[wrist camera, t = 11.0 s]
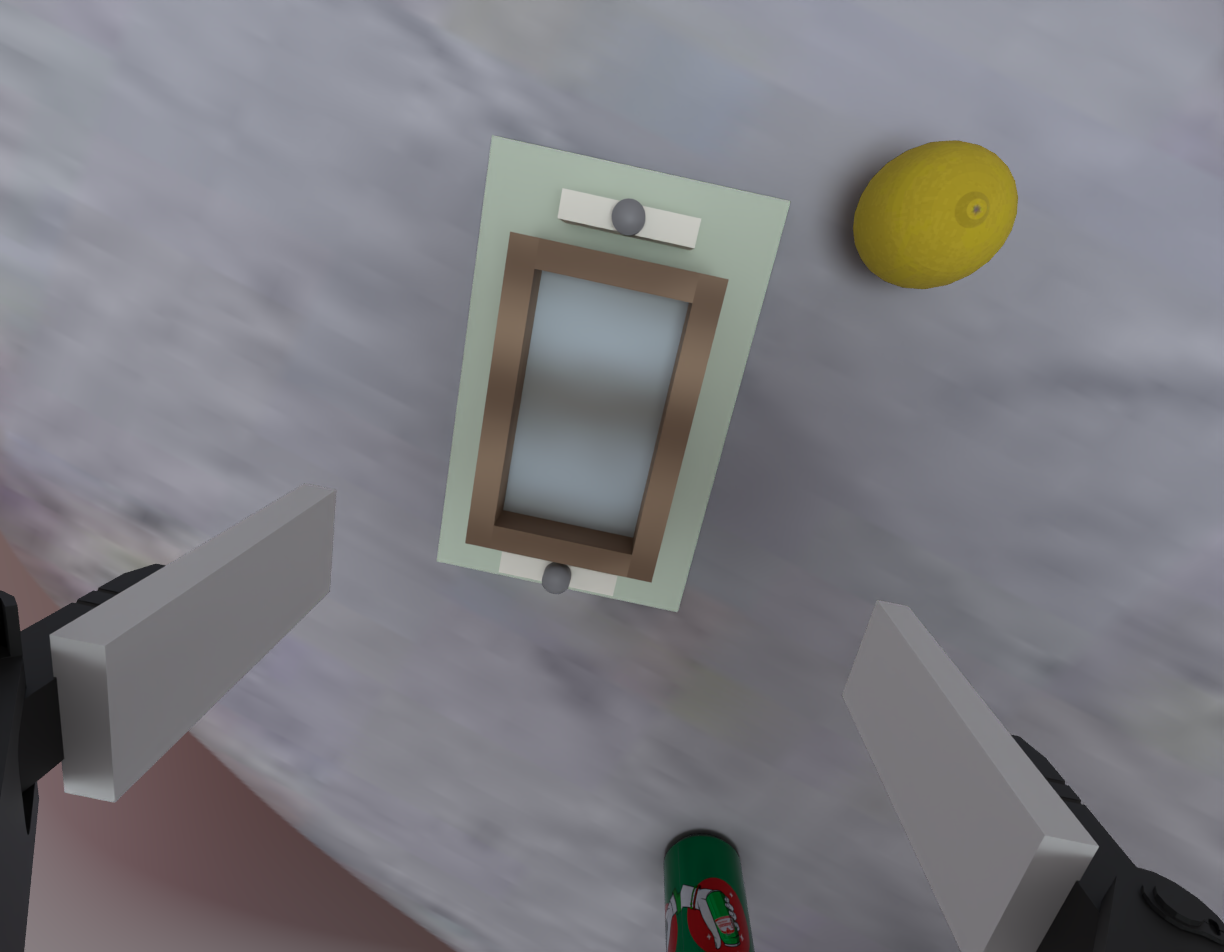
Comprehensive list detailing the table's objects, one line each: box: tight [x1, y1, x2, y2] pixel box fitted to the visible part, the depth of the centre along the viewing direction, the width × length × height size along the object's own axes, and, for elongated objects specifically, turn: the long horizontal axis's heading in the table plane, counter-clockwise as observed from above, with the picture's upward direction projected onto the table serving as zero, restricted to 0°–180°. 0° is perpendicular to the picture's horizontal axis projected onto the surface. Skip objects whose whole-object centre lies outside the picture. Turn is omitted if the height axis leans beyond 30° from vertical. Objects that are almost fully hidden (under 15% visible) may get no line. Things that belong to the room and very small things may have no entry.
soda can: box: [664, 834, 755, 952], centre depth 36 cm, size 5×5×12 cm
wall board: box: [437, 135, 791, 612], centre depth 31 cm, size 22×14×4 cm, turn 168°
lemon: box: [853, 141, 1018, 289], centre depth 26 cm, size 6×6×8 cm
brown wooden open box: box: [465, 232, 729, 583], centre depth 30 cm, size 14×9×5 cm, turn 168°
